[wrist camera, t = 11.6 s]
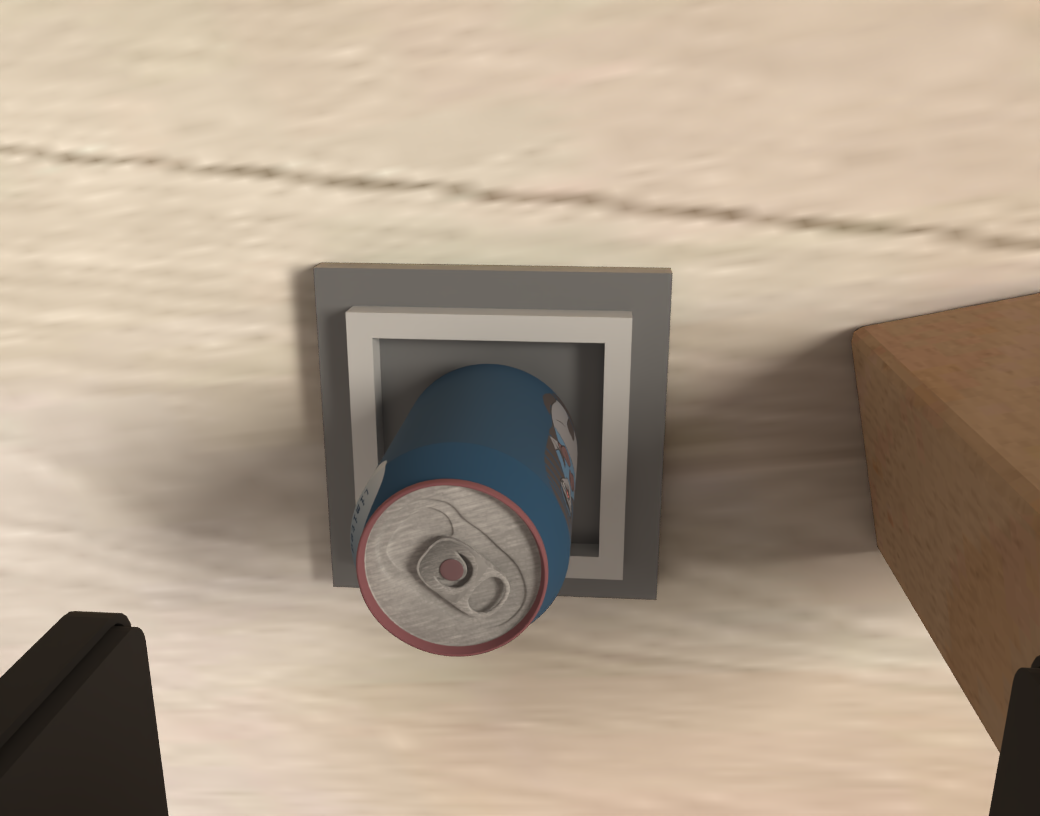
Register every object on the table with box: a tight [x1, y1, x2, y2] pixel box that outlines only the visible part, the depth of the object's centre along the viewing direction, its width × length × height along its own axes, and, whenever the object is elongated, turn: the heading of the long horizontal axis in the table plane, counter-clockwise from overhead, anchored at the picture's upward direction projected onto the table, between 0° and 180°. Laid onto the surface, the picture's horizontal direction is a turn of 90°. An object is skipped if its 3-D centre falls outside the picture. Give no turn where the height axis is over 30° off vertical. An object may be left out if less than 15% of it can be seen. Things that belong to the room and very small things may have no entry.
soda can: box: [350, 364, 578, 656], centre depth 35 cm, size 7×7×12 cm
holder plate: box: [314, 263, 672, 600], centre depth 41 cm, size 14×14×2 cm
